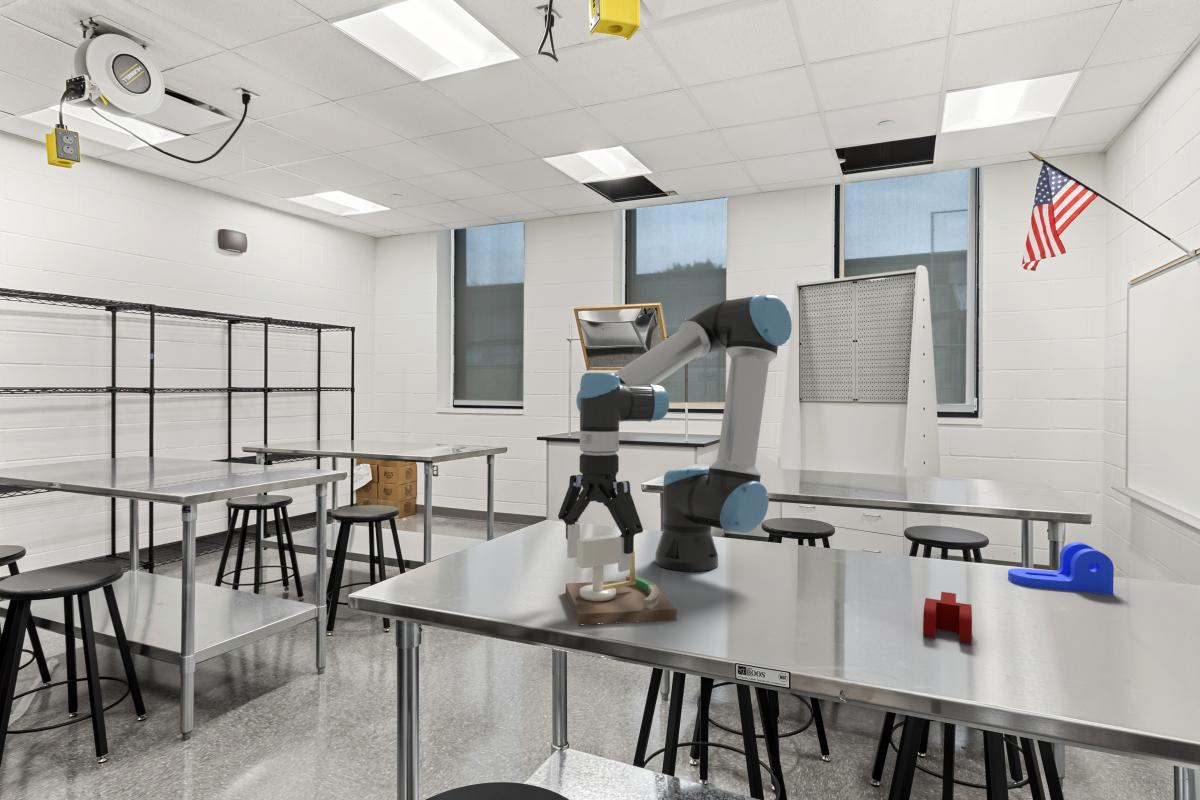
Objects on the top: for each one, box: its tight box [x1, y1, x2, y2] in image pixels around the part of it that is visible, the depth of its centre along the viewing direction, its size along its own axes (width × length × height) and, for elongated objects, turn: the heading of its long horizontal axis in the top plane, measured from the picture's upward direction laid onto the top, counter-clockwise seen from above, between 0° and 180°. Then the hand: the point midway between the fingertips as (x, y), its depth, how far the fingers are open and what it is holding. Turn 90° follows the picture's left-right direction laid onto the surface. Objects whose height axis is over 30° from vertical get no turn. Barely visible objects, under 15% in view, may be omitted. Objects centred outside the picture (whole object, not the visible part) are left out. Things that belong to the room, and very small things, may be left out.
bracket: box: [1007, 541, 1115, 595], centre depth 140 cm, size 18×8×9 cm, turn 72°
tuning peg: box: [576, 534, 636, 601], centre depth 123 cm, size 7×12×11 cm, turn 121°
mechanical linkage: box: [922, 591, 973, 646], centre depth 113 cm, size 16×7×5 cm, turn 150°
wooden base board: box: [565, 574, 678, 626], centre depth 123 cm, size 18×18×4 cm
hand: (598, 563), depth 122 cm, fingers open, 13 cm apart
